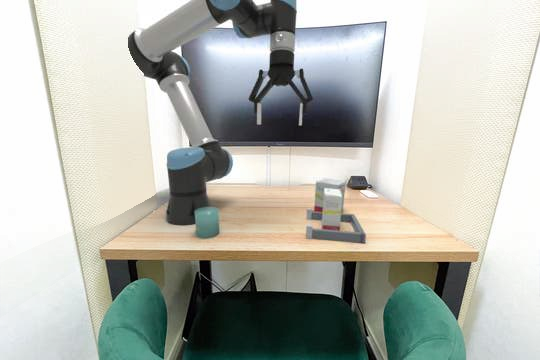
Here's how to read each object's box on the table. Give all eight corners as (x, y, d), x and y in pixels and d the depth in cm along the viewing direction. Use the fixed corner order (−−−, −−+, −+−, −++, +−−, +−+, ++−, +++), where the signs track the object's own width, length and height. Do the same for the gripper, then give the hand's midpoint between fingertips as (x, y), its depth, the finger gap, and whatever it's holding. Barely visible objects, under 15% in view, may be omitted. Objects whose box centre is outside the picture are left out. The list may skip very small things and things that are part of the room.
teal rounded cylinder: (191, 237, 58) (190, 213, 57) (203, 227, 64) (201, 206, 63) (213, 239, 57) (212, 215, 56) (222, 229, 63) (221, 207, 62)
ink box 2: (339, 236, 60) (343, 195, 57) (321, 234, 61) (324, 194, 58) (337, 224, 68) (340, 188, 65) (321, 222, 69) (323, 187, 67)
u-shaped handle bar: (305, 238, 58) (306, 226, 57) (306, 217, 73) (306, 207, 72) (365, 243, 55) (366, 231, 55) (353, 221, 70) (354, 210, 70)
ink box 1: (335, 217, 74) (338, 184, 71) (313, 212, 79) (314, 180, 76) (343, 210, 80) (346, 180, 78) (322, 206, 85) (324, 177, 83)
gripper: (238, 49, 63) (239, 123, 67) (324, 46, 58) (318, 125, 63) (246, 58, 70) (245, 124, 74) (323, 55, 66) (318, 126, 70)
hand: (279, 125), depth 69 cm, fingers open, 13 cm apart
